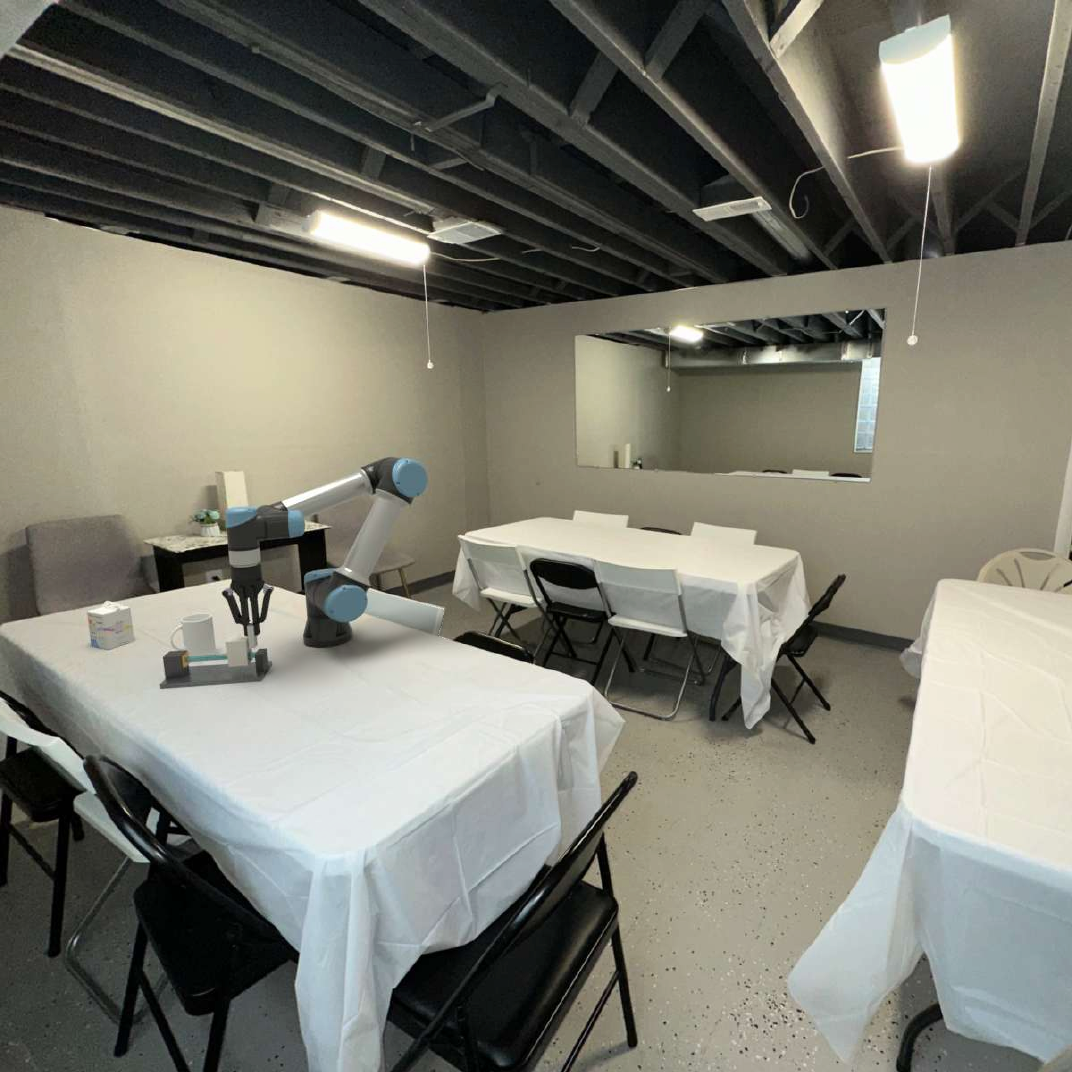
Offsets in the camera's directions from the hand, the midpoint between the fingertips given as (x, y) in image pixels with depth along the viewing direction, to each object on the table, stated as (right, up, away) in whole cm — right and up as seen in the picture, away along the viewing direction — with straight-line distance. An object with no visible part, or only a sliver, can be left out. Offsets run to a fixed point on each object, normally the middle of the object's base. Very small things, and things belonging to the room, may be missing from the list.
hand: (253, 646), depth 158 cm
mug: (-24, -6, +13) cm, 28 cm away
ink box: (-57, -4, +24) cm, 61 cm away
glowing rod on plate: (-10, -8, 0) cm, 13 cm away
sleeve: (-4, -5, 0) cm, 6 cm away
